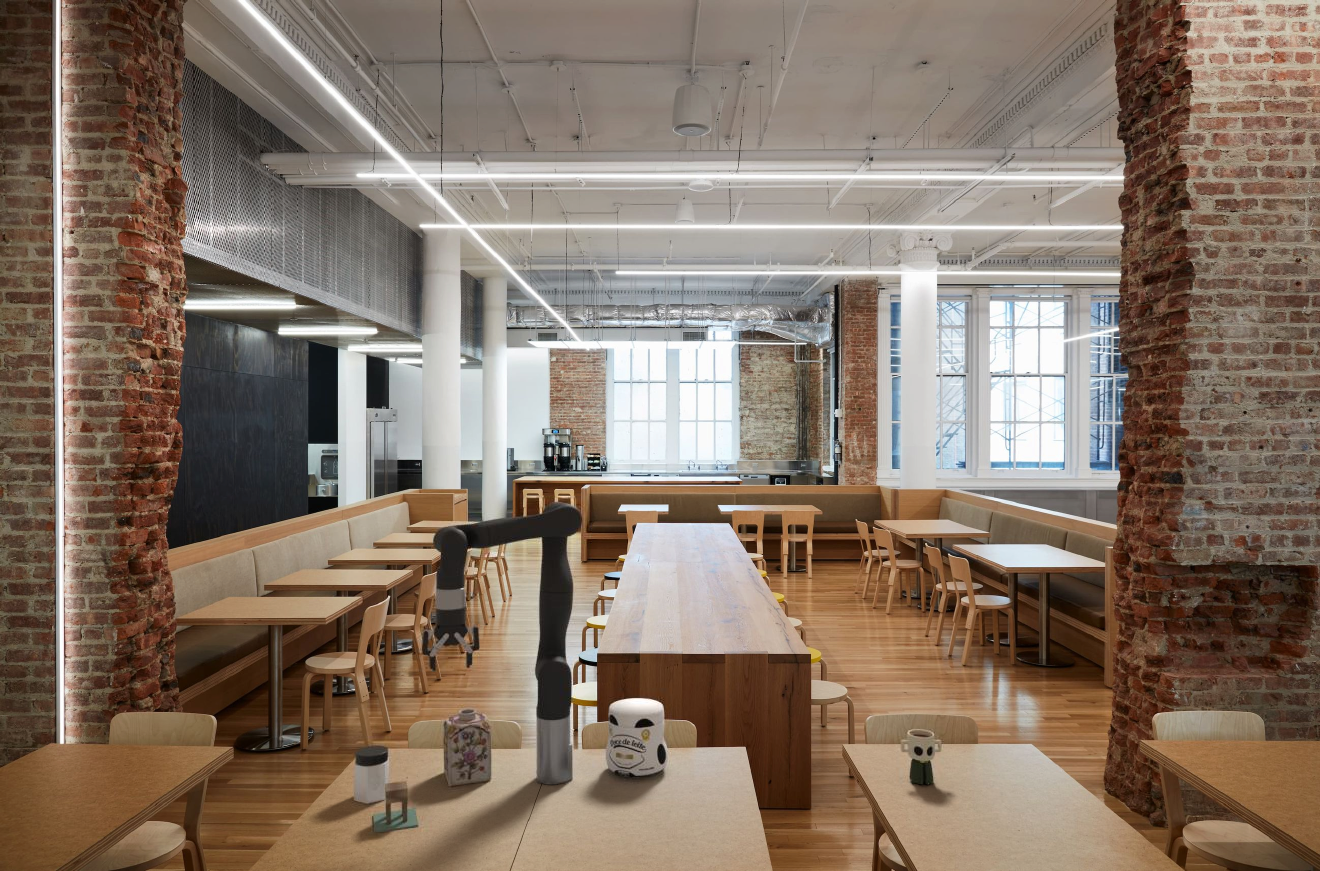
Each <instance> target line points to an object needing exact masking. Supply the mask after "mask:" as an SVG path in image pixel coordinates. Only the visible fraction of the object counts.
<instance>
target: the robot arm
mask: <svg viewBox="0 0 1320 871" xmlns="http://www.w3.org/2000/svg"><path fill="white" fill-rule="evenodd" d="M582 524H583V516H582V512H581V510H579V508H577V507H576V506H575V505H572V504H570V503H565V502H561V501H553V502H550V503H548V504H546V506H545V507H544V508H543V510H542V512H541V513H538V514H534V515H526V516H524V515H523V516H513V517H511V516H510V517H500V518H493V519H489V520H483V521H479V522H474V523H468V524H466V523H465V524H456V525H448V526H444V527H442V528H440V529H438V530H437V531H436V532H435V534H434V535H433V538H432V539H433V540H432V542H433V546H434V548H435V549H436V550H437V552H439V553H440V560H439V561H440V565H439V566H437V569H436V576H435V577H436V579H435V580H436V583H435V584H436V590H435V600H434V601H435V602H434V603H435V604H434V605H435V626H434V629H433V630H431V629H423V630H422V638H421V639H422V640H421V653H422V655H423V656H428V657H429V658H428V659H429V660H428V661H429V663H428V665H429V668H430V670H431V671H432V672H436V670H437V669H436V667H437V665H436V661H437V660H436V654H437V653H438V651H440V649H441V648H442V646H444V647H450V646H458V645H461V646H462V647H463V648H464V649H465V650H466V651H465V667H466V668H467V669H469V668H471V667H470V666H472V665H473V654H474V652H476V651H479V650H480V634H479V627H478V626H477V625H473V626H470V627H469V626H468V627H467V623H466V620H467V617H466V616H467V613H466V609H467V607H466V605H467V600H466V590H465V568H466V562H467V557H468V550H470V549H479V550H480V549H487V548H492V547H498V546H502V545H503V546H504V545H507V544H511V543H512V544H513V543H516V542H521V541H526V540H531V539H532V540H533V539H540V538H541V551H542V552H541V564H540V565H541V566H540V567H541V568H540V583H539V600H538V624H539V641H538V648H537V654H536V661H535V668H534V674H535V678H536V681H537V703H536V709H535V710H536V712H535V714H536V715H535V716H536V728H535V730H536V732H535V733H536V772H535V773H536V780H537V782H539V783H541V784H544V785H557V784H558V785H559V784H562V783H563V784H564V783H566V782H567V781H572V780H574V779H573V776H574V775H573V744H572V742H571V707H572V701H573V700H572V696H573V694H572V691H573V689H572V688H573V687H572V686H573V685H572V684H573V682H572V680H573V678H572V677H573V676H572V675H573V674H572V670H571V667H570V666H569V664H568V663H567V650H566V649H567V648H566V646H567V644H566V639H567V631H568V627H569V623H570V619H571V616H572V612H573V611H572V610H573V602H574V601H573V600H574V579H573V575H572V571H571V566H570V563H569V559H568V550H567V549H568V538H569V537H571V536H574V535H575V534H576V533H577V532H579V530H580V529H581V527H582ZM468 633H469V634H470V636H472V640H473V641H472V642H473V644H472V645H469V643H468V642H467V641H466V639H465V637H466V635H467V634H468ZM433 635H434V637H435V638H436V641H435V642H434V643H433V645H432V647H431V648H430V649H428V647H429V640H430V639H431V638H432V636H433Z"/></svg>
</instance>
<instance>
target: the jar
mask: <svg viewBox="0 0 1320 871" xmlns="http://www.w3.org/2000/svg"><path fill="white" fill-rule="evenodd" d="M354 756H355V757H354V758H355V761H354V762H355V763H354V765H353V791H354V792H353V801H354V802H360V803H362V804H368V805H369V804H373V803H376V802H382V801H384V800H385V801H386V799H385V784H387V783H390V757H389V749H388V747H387V746H384V745H377V744H376V745H368V746H363V747H361V748H359V749H358V750H356V751H355V754H354Z"/></svg>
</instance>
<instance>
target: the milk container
mask: <svg viewBox="0 0 1320 871" xmlns="http://www.w3.org/2000/svg"><path fill="white" fill-rule="evenodd" d="M665 738H666V737H665V710H664V705H663V704H662V703H661V702H659V701H658V700H654V699H650V698H642V697H641V698H640V697H639V698H638V697H637V698H635V697H633V698H632V697H631V698H625V699H624V698H623V699H620V700H617V701H614V702H613V703H611V704H610V705H609V706H608V741H607V743H606V749H605V760H606V766H607V767H608V770H609V771H610V772H612V773H614V774H615V775H617V776H620V777H623V778H624V777H625V778H634V779H635V778H637V779H639V778H647V777H651V776H655V775H657V774H659V773H661V772H662V771H663V770H664V769H665V767H666V765H667V762H668V754H669V753H668V746H667V742H666V739H665Z"/></svg>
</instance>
